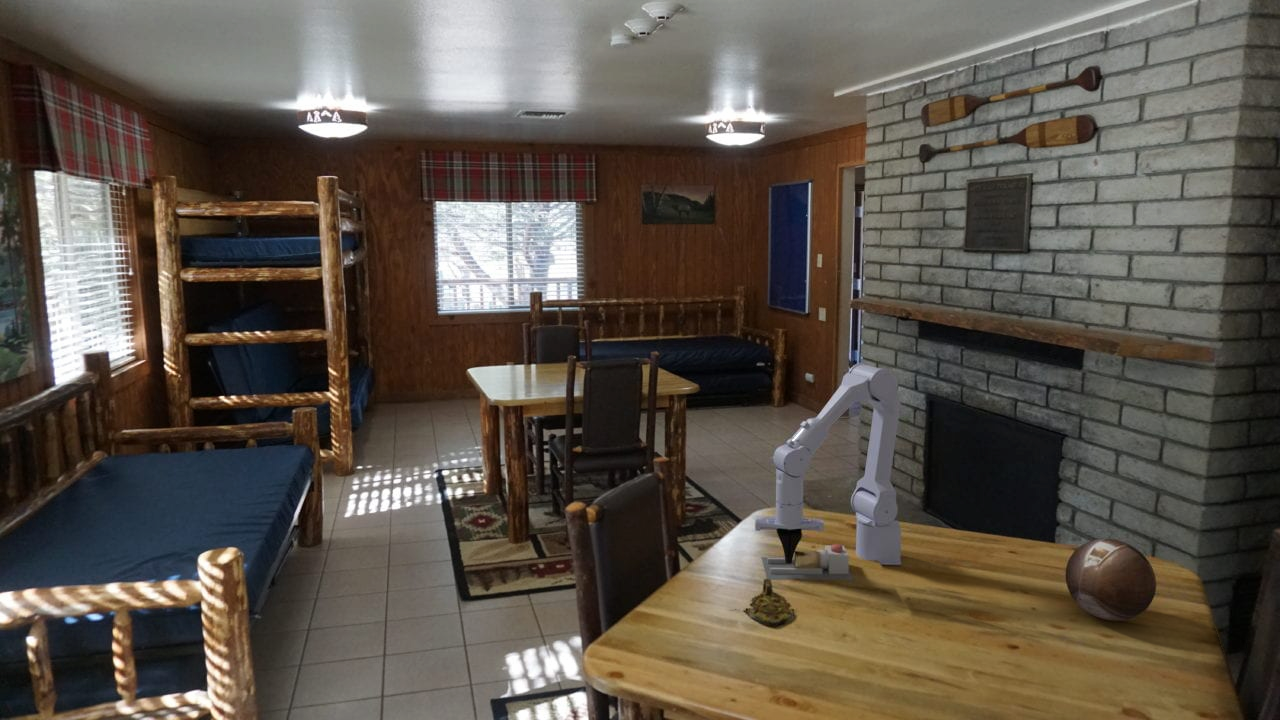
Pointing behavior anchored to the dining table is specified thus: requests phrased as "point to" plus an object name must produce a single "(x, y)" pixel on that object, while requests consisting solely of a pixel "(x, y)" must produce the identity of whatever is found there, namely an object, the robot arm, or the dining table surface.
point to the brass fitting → (806, 559)
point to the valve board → (831, 568)
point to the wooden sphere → (1110, 579)
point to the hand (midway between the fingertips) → (788, 561)
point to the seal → (770, 607)
